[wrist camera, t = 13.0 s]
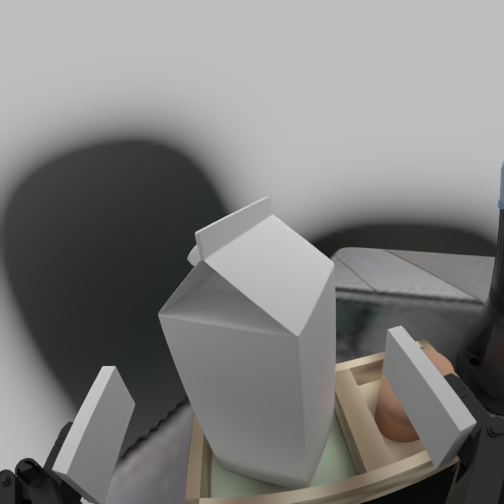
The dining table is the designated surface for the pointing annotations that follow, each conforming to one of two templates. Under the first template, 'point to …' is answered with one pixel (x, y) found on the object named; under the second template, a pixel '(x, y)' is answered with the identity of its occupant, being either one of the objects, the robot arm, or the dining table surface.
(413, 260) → the dining table surface
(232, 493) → the caddy
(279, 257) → the milk carton
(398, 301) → the dining table surface
